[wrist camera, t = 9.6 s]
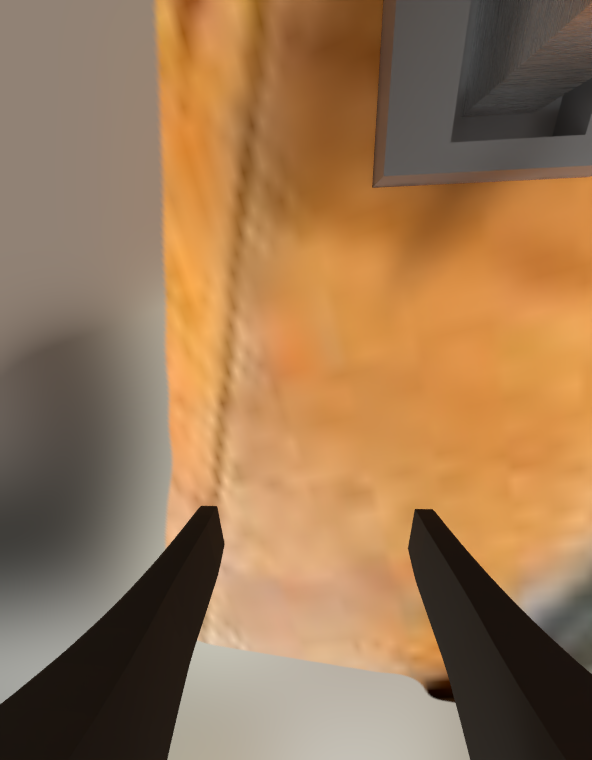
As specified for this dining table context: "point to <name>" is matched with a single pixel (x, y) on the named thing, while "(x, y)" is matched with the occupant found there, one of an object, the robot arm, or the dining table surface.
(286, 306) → the dining table surface
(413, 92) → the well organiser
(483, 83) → the long block
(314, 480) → the dining table surface
